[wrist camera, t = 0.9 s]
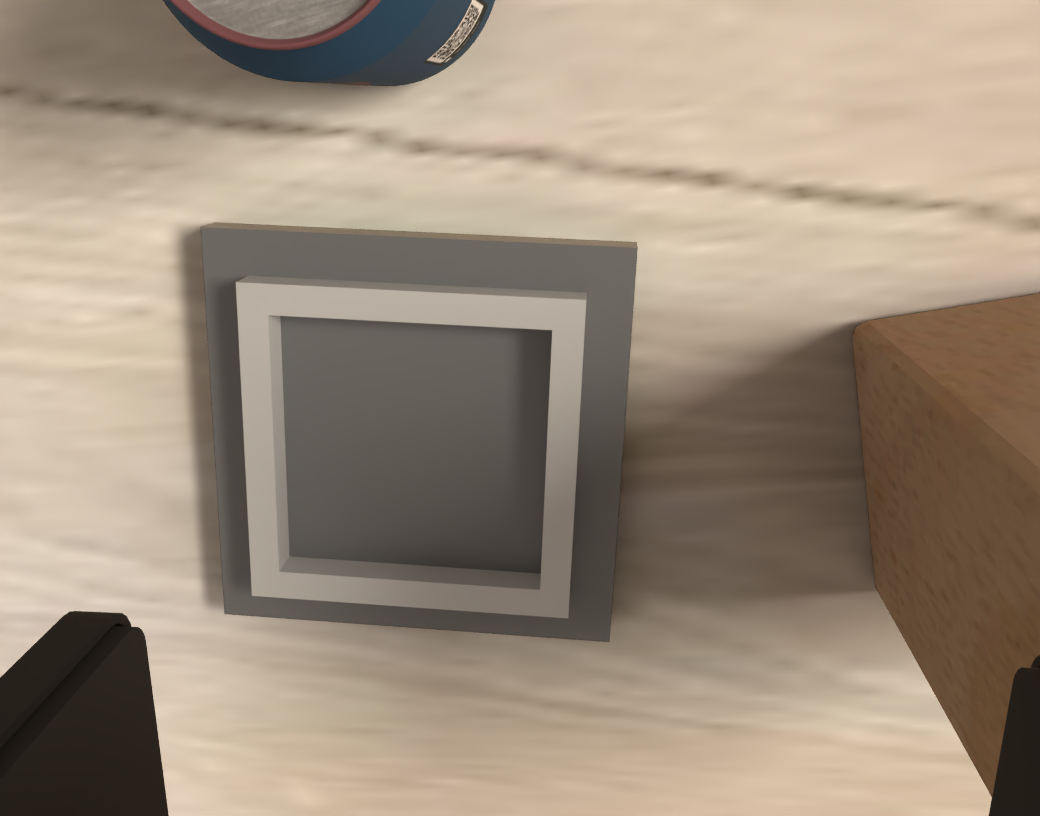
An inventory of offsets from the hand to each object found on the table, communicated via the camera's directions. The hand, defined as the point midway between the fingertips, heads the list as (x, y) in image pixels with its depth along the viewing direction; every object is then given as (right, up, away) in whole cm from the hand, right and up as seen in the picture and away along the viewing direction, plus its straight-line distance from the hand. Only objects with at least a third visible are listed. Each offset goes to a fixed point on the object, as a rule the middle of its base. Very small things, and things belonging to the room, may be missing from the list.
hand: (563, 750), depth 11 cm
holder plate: (-4, +3, +24) cm, 25 cm away
